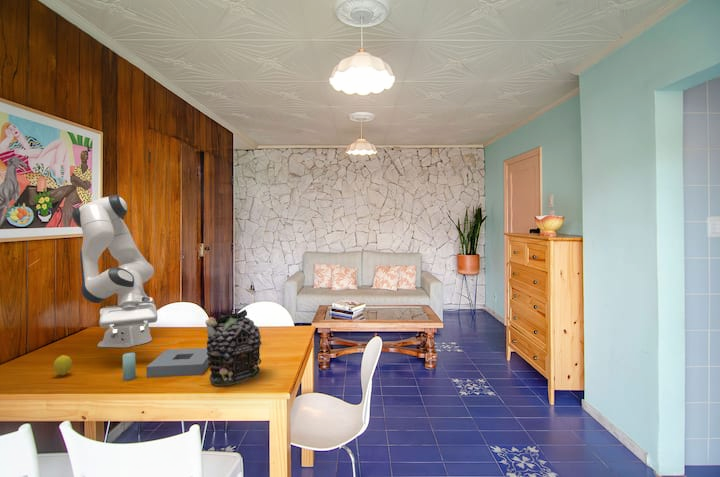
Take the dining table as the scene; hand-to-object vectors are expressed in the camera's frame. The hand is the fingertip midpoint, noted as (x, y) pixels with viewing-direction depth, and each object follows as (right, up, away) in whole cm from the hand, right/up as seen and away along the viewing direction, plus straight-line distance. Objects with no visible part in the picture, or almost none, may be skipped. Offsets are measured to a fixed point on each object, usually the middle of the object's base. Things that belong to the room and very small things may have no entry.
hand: (128, 333), depth 151 cm
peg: (+6, -14, -9) cm, 18 cm away
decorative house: (+45, -15, -9) cm, 48 cm away
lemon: (-21, -15, -7) cm, 26 cm away
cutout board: (+20, -14, +3) cm, 25 cm away
